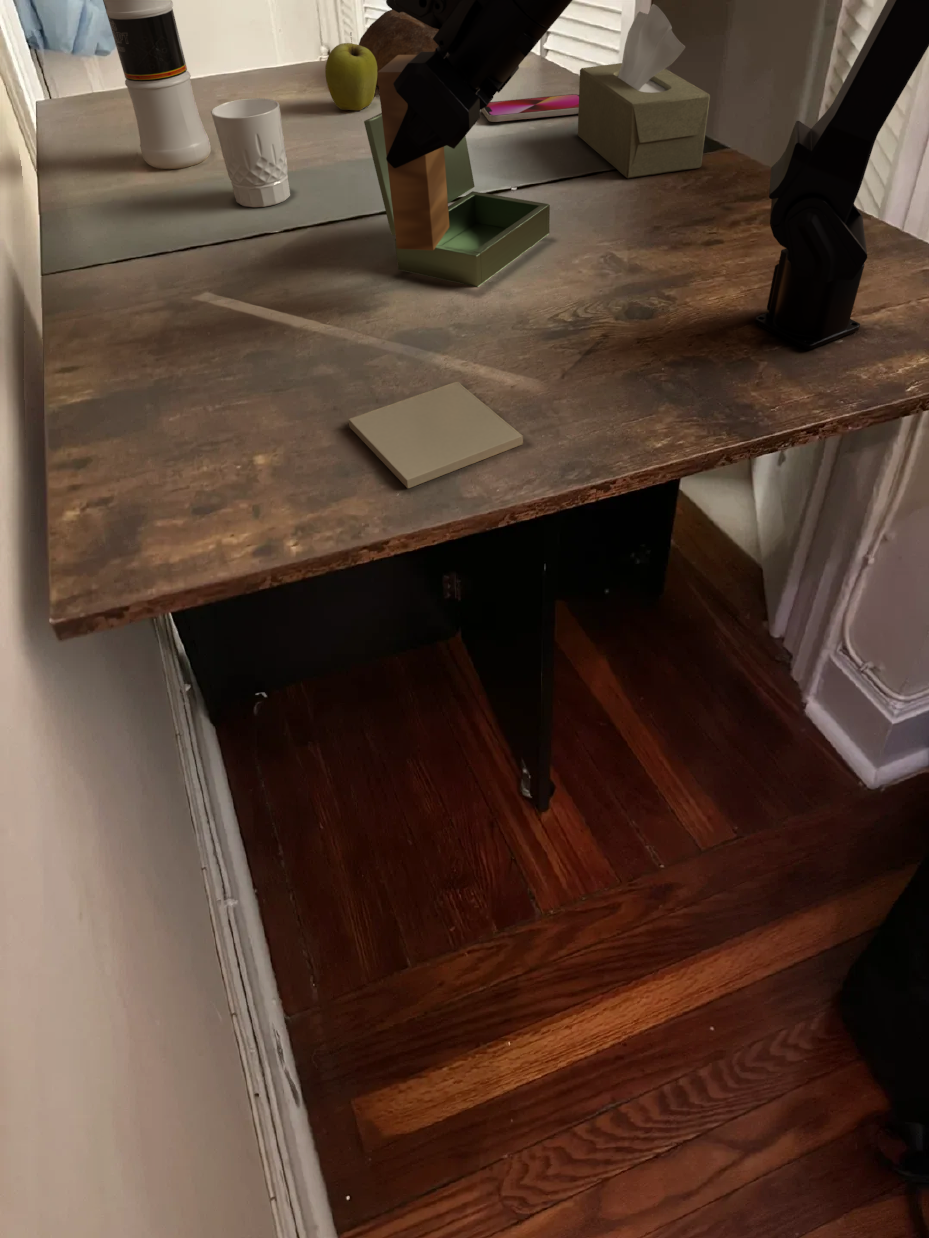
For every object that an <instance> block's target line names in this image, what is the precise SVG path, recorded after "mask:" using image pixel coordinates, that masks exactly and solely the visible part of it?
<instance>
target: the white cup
mask: <svg viewBox="0 0 929 1238" xmlns="http://www.w3.org/2000/svg"><path fill="white" fill-rule="evenodd" d="M210 114H211V118H212V122H213V126H214V129H215V133H216V137H217V141H218V143H219V147H220V151H221V155H222V158H223V162H224V165H225V169H226V172H227V176H228V178H229V180H230V181H231V182H230V183H231V187H232V190H233V194H234V198H235V201H236V203H237V204H239V205H240V206H242V207H248V208H265V207H270V206H275V205H278V204H281V203H283V202H285V201H286V200H288V199H289V198H290V197H291V190H290V189H291V188H290V183H289V174H288V171H289V167H288V157H287V151H286V143H285V137H284V136H285V135H284V129H283V128H284V127H283V122H282V114H281V106H280V103H279V102H278V101H277V100H274V99H272V98H265V97H253V98H252V97H250V98H249V97H248V98H241V99H234V100H229V101H226V102H223V103H220V104H218V105H216V106H214V107H213V108H212V109H211V111H210Z"/></svg>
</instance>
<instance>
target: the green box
mask: <svg viewBox="0 0 929 1238" xmlns="http://www.w3.org/2000/svg"><path fill="white" fill-rule="evenodd" d="M550 207H551V205H550V203H545V202H540V201H534V200H527V199H521V198H516V197H509V196H503V195H497V194H492V193H486V192H479V191H474V190H472V191H470V192H469V193H467V194H466V195H464V196H462V197H461V198H459V199H457V200H456V201H453V203H451V204H450V205H448V213H449V228H448V230H447V231H446V233H445V234H444V236H443V237H442V239H441V240H440V241H439V243H438V244H437V246H436V247H435V249H434V250H413V249H397V244H396V238H395V239H394V246H395V251H396V252H395V253H396V254H395V255H396V262H397V269H398V271H402V272H407V273H411V274H416V275H420V276H425V277H429V278H434V279H438V280H443V281H448V282H452V283H457V284H462V285H466V286H470V287H475V288H479V287H480V286H481V285H483V284H484V283H485V282H487V281H488V280H489V279H491V278H492V277H493V276H495V275H496V274H497V273H499V272H500V271H501V270H503V269H504V268H505V267H507V266H508V265H510V264H511V263H513V262H514V261H515V260H516V259H518V258H519V257H520V256H522V255H523V254H524V253H526V252H527V251H529V249H531V248H533V247H534V246H535V245H537V244H538V243H539V242H541V241H542V240H543V239H544V238H546V237H547V236H549V235H550V218H551V217H550V216H551V215H550V213H551V211H550V210H551V208H550Z"/></svg>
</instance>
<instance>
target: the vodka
mask: <svg viewBox="0 0 929 1238" xmlns="http://www.w3.org/2000/svg"><path fill="white" fill-rule="evenodd" d="M102 2H103V5H104V8H105V9H104V10H105V14H106V16H107V19H108V22H109V23H108V24H109V27H110V30H111V33H112V37H113V40H114V44H115V47H116V51H117V55H118V58H119V61H120V64H121V68H122V72H123V75H124V85H125V86H126V88H127V91H128V94H129V97H130V100H131V103H132V107H133V110H134V114H135V120H136V123H137V129H138V135H139V141H140V142H139V148H140V152H141V156H142V158H143V160H144V162H145V163H146V165H149V166H150V167H153V168H155V169H159V170H178V169H184V168H185V169H186V168H190V167H192V166H193V167H194V166H195V165H196V166H197V165H199V164H200V163H203V162H204V161H206V160H207V158H208V157H209V156H210V155H211V151H212V146H211V142H210V141H211V140H210V138H209V135H208V133H207V132H206V130H205V127H204V125H203V121H202V119H201V116H200V113H199V109H198V106H197V103H196V99H195V95H194V91H193V86H192V80H191V76H192V75H191V73H190V72H189V70H188V67H187V62H186V57H185V54H184V50H183V46H182V42H181V38H180V35H179V34H180V33H179V30H178V25H177V22H176V17H175V12H174V9H173V7H174V2H173V0H102Z"/></svg>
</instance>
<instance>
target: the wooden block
mask: <svg viewBox="0 0 929 1238" xmlns="http://www.w3.org/2000/svg"><path fill="white" fill-rule="evenodd" d="M415 56H417V55H397V56H396V57H395V58H394V59H393V60H391V61H390V62H389V63H388V64H387V65H385V66H384V67H383V68H382V69H381V70H379V71H378V72H377V76H378V85H379V86H378V93H379V102H380V110H381V111H380V112H381V113H382V120H383V129H384V138H385V147H386V156H387V155H388V152H389V150H390V148H391V146H392V143H393V141H394V139H395V136H396V134H397V132H398V130H399V127H400V125H401V123H402V120H403V118H404V116H405V113H406V111H407V108H408V104H407V103H406V101H405V100H404V99H403V98H402V97H401V96H400V95H399V94H398V93H397V92H396V90H395V87H394V85H393V83H394V81H395V80H396V79H397V77H398V76H399V75H400V73H401V72H402V71H403V69H404V68H405V66H406V65H407V64H408V63H409V62H410V61H411V60H412V59H413V58H414V57H415ZM387 164H388V173H389V182H390V191H391V200H392V209H393V217H394V226H395V235H394V236H395V239H396V244H397V249H413V250H434V249H435V247H436V246H437V244H438V243H439V241H440V240H441V239H442V237H443V236H444V234H445V233H446V231H447V230H448V228H449V213H448V206H449V203H448V199H447V185H446V170H445V156H444V147H442V148H440V149H437V150H435V151H433V152H430V153H428V154H426V155H424V156H421V157H419V158H417V159H415V160H413V161H411V162H409V163H406V164H404V165H402V166H400V167H398V168H393V167H392V166H391V165H390V164H389V163H388V162H387Z"/></svg>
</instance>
